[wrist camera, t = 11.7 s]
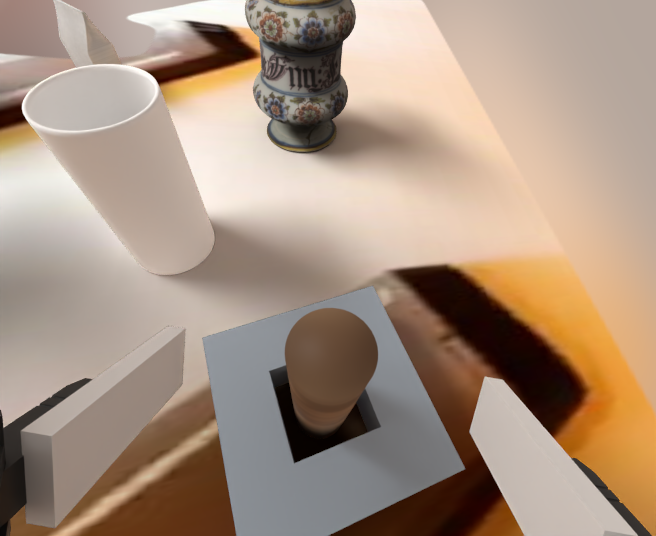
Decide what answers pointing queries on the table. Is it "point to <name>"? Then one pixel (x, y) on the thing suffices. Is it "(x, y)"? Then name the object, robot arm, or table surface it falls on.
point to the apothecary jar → (301, 68)
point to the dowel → (328, 368)
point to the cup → (125, 161)
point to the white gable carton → (83, 37)
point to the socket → (332, 464)
